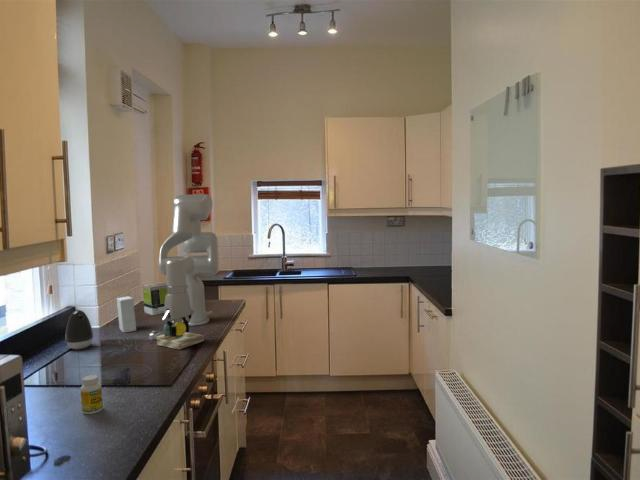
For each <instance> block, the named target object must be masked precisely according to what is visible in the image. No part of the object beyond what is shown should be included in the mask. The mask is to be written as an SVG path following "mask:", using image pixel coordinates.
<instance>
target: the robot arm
mask: <svg viewBox="0 0 640 480" xmlns="http://www.w3.org/2000/svg"><path fill="white" fill-rule="evenodd" d="M173 207H174V208H173V218H172V232H171V234H170V235H169V236H168V237H167V238H166V239H165V240H164V242H163V243H162V244H161V247H160V248H159V253H158V263H157V267H158V272H159V273H160V274H161V275H163V276H166V282H167V293H168V294H166V297H165V307H164V313H163V314H164V316H163V317H162V319H161V320H162V322H164V324H167V325H168V326H169V332H170V336H174V337H175V336H176V327H175V323H177V322H176V321H177V320H179V319H182V320H181V322H182V323H184V324H185V326H186V331H185V332H187V333H190V327H191V326H194V327H195V326H202V325H206V324H208V323H210V319H209V316H212V315H213V314H214V313H213V310H210V311H206V299H205V285H204V283H203V281H202V279H200V277H207V276H216V275H217V274H218V272H219V245H218V244H219V243H218V237H217V235H216V233H214V232H212V231H202V228H201V225H202V223H201V221H206V220H207V219H208V218H209V216H210V214H211V211H212V209H213V199H212V197H211V195H209V194H207V193H206V194H205V193H204V194H203V193H201V194H199V193H198V194H180V195H176V196H174V198H173ZM181 244H182V249H183V251H184V252H186V253H189V254H197V253H207V255H205V254H204V255H187V256H185V255H184V256H182V255H181V256H169V253H170V252H171V250H172V249H173V248H175V247H177V246H178V245H181Z"/></svg>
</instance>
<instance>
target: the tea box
mask: <svg viewBox="0 0 640 480" xmlns="http://www.w3.org/2000/svg"><path fill="white" fill-rule="evenodd" d="M142 294H143V295H142V296H143V297H142V298H143V310H144V313H145V314H147V315H151V316H156V315H161V314H164V307H165V297H166V294H168V293H167V281H162V282H161V281H160V282H155V283H149V284H144V285H142Z"/></svg>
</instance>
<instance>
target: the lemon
mask: <svg viewBox="0 0 640 480" xmlns="http://www.w3.org/2000/svg"><path fill="white" fill-rule="evenodd" d="M175 327H176V335H179V336H180V335H182V334H184V333H185V331H186V326H185V324H184V323H182V321H177V322H175Z"/></svg>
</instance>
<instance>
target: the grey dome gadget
mask: <svg viewBox="0 0 640 480" xmlns="http://www.w3.org/2000/svg"><path fill="white" fill-rule="evenodd" d="M64 337H65V338H64V339H65V342H66V344H67V345H68V347H69V348H70V349H72V350H83V349H86V348H88V347H90V345H91V344H92V342H93V340H94V331H93V327H92V325H91V322H90V319H89V317H88V315H87V314H86V313H85V312H84V311H83V310H81V309H79V310H77V309H76V310H74V311H72V312H71V314H70V315H69V317H68V320H67V324H66V329H65V335H64Z"/></svg>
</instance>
